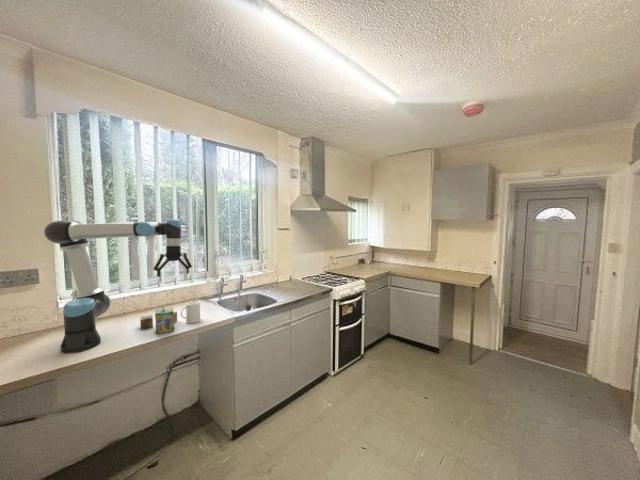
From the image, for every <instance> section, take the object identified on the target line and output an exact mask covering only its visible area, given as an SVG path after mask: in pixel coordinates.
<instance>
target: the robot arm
mask: <svg viewBox="0 0 640 480" xmlns="http://www.w3.org/2000/svg"><path fill="white" fill-rule="evenodd" d="M181 225H182V221H181V220H180V219H173V218H172V219H171V218H168V219H166V221H165V222H164V221H163V222H162V221H161V222H160V221H139V222H137V221H136V222H134V221H133V222H103V223H101V222H100V223H84V222H81V221H78V220H77V221H76V220H56V221H55V220H54V221H53V222H52V221H51V222H50V223H48V224H47V225H46V226H45V228H44V231H43V234H44V237H45V238H46V239H47V240H48V241H49V242H51V243H54V244H58V245H59V247H60V249H61V250H64V251H65V252H66V257H67V259H68V263H69V265H70V268H71V269H70V270H71V272H72V275H73V278H74V282H75V285H76V288H77V292H78V294H77V295H76V299H74V300H73V299H72V300H70V301H68V302H66V303H65V304H64V305H63V311H62V315H63V329H64V336H63V337H62V338H63V339H62V342H61V344H60V352H61V353H63V354H73V353H74V354H75V353H80V352H85V351H87V350H91V349H93V348H95V347H97V346H99V345H100V344H101V342H102V341H101V340H102V339H101V338H102V337H101V336H100V333H99V332H98V330H97V327H96V325H97V324H96V319H97V318H98V317H100V316H102V315H103V314H105V313H106V312H107V311H108V309H109V308H110V306H111V303H112V302H111V298H110V297H109V295H108V294H106V293H105V291H104V289H103V288H100V287H99V283H98V279H97V276H96V273H95V270H94V266H93V263H92V259H91V257H90V256H91V255H90V253H89V249H88V246H89V245H90V241H89V240H90V239H91V240H92V239H110V238H112V239H113V238H132V237H133V238H134V237H151V236H166V238H165V239H166V241H165V242H166V243H165V245H166V246H165V247H166V248H165V251H166V253H165V254H164V253H160V254H159V257H158V260H157V261H156V263H155V265H154V266H153V268H152V269H153V271H156V277H158V282H159V283H163V282H162V281H163V278H162V277H163V275H162V274H163V272H162V270H163V268H165V266H166V265H167V264H168V263H169V262H174V261H175V262H176V261H178V262H179V263H180V264H181V265H182V266H183V267H184V268H183V280H185V281H187V279H188V278H187V277H188V274H189V269H190V268H192V267H193V265H192V264H191V262H190V260H189V258H188V257H187V255H188V254H187V253H186V252H181V249H182V246H181V245H182V244H181V243H182V241H181V240H182V234H181V233H182V226H181ZM165 257H166V258H165ZM181 257H183V259H184V260H182V258H181ZM164 258H165V260H163V259H164ZM162 261H163V262H162ZM184 261H185V262H184Z"/></svg>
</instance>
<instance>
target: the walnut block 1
mask: <svg viewBox="0 0 640 480" xmlns="http://www.w3.org/2000/svg"><path fill="white" fill-rule="evenodd" d="M139 321H140V323H139V324H140V330H147V329H153V328H154V327H153V326H154V324H153V323H154V322H153V321H154V319H153V314H151V315H144V316H140V319H139Z"/></svg>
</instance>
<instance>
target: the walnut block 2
mask: <svg viewBox="0 0 640 480" xmlns="http://www.w3.org/2000/svg"><path fill="white" fill-rule="evenodd" d="M173 316H174V324H175V323H176V322H178V312H177V311H173Z"/></svg>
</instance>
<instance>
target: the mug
mask: <svg viewBox="0 0 640 480" xmlns="http://www.w3.org/2000/svg"><path fill="white" fill-rule="evenodd" d="M184 310H185V312H186V313H185V315H186V316H183V311H184ZM180 316H181V317H182V319H185V320H186V322H185V323H186V324H196V323H199V322H200V321H201V301H199V300H191V301H188V302H186V303H185V306H184V307H183V308H182V309H181V311H180Z"/></svg>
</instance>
